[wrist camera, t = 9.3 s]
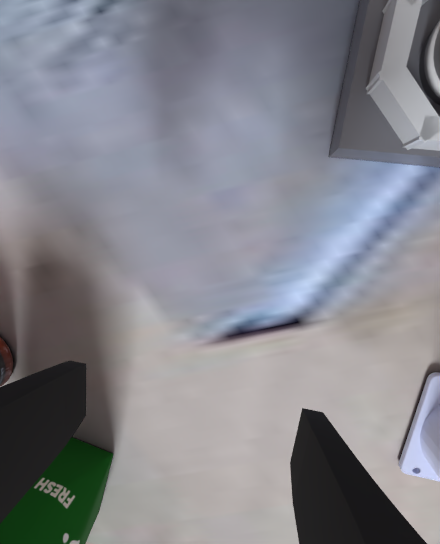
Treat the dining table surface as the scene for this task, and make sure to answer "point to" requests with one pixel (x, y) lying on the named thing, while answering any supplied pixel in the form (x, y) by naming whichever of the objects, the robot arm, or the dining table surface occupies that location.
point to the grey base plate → (388, 87)
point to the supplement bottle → (5, 362)
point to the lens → (431, 65)
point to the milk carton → (61, 499)
